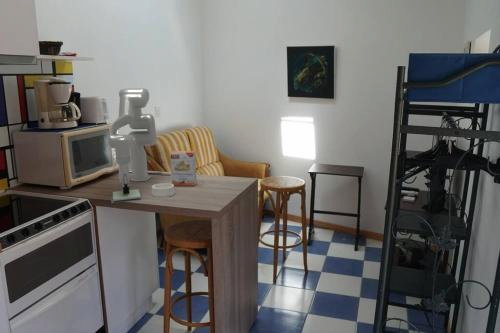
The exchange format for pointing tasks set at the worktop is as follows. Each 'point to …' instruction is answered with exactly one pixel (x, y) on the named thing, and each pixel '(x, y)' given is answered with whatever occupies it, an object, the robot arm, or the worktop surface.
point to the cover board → (126, 195)
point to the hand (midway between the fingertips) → (126, 192)
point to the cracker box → (183, 168)
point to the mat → (125, 200)
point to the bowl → (163, 190)
